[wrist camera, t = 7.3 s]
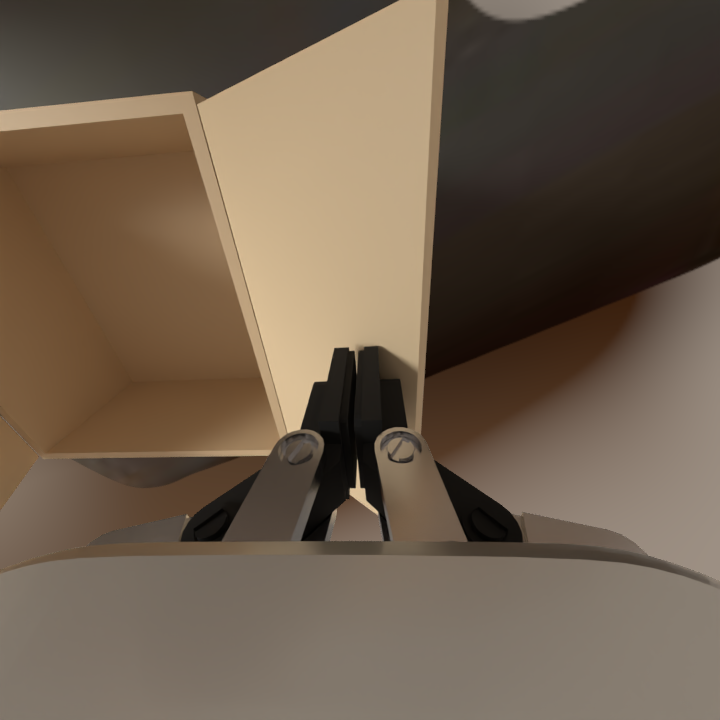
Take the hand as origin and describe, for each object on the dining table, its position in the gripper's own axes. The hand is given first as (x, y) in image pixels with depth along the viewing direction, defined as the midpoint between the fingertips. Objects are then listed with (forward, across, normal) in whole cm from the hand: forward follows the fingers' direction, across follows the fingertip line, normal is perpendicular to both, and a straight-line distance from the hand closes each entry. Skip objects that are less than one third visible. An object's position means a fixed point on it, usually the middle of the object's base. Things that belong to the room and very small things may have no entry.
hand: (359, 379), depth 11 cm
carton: (+15, +16, 0) cm, 22 cm away
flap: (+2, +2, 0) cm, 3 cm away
